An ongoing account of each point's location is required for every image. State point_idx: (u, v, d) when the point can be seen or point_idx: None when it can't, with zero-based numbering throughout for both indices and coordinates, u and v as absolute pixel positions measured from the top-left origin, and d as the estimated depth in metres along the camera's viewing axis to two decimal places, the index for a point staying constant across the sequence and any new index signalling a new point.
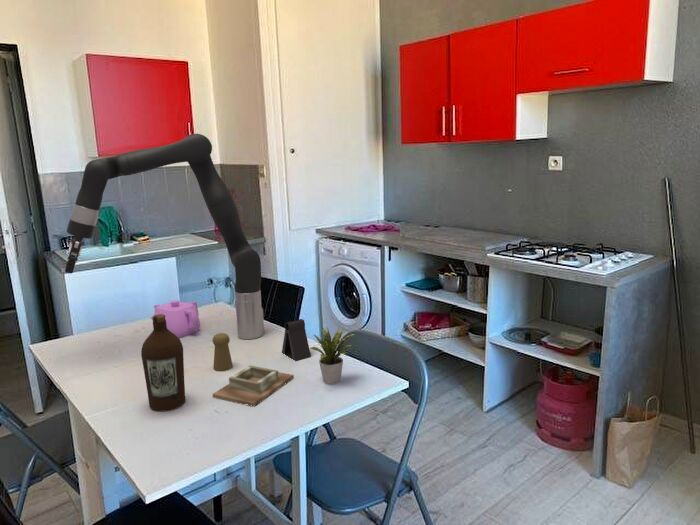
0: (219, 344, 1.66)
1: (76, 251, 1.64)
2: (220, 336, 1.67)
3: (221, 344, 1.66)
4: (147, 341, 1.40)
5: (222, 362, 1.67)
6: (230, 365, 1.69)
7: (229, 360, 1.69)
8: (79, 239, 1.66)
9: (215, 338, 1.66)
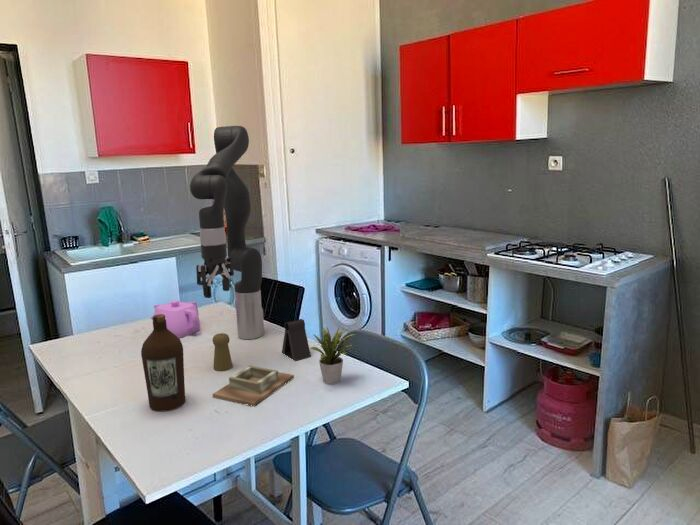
0: (219, 344, 1.66)
1: None
2: (220, 336, 1.67)
3: (221, 344, 1.66)
4: (147, 341, 1.40)
5: (222, 362, 1.67)
6: (230, 365, 1.69)
7: (229, 360, 1.69)
8: None
9: (215, 338, 1.66)
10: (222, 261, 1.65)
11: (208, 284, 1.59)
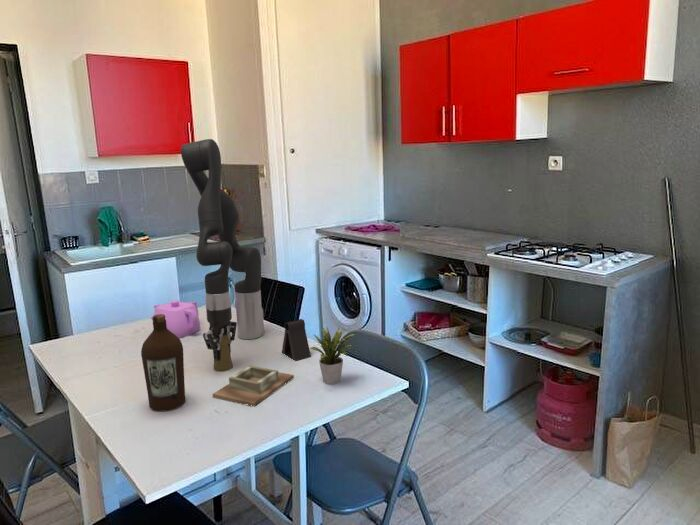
0: None
1: None
2: None
3: (221, 344, 1.66)
4: (147, 341, 1.40)
5: (222, 362, 1.67)
6: (230, 365, 1.69)
7: (229, 360, 1.69)
8: None
9: (215, 338, 1.66)
10: (227, 322, 1.69)
11: (218, 348, 1.66)
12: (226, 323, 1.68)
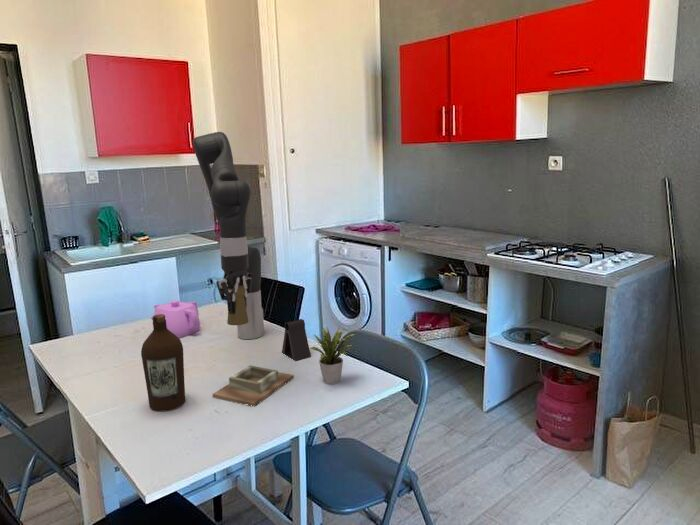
0: None
1: None
2: None
3: (236, 295, 1.51)
4: (147, 341, 1.40)
5: (237, 315, 1.51)
6: (246, 319, 1.53)
7: (245, 314, 1.53)
8: None
9: (230, 288, 1.51)
10: (243, 272, 1.53)
11: (233, 299, 1.50)
12: (242, 273, 1.53)
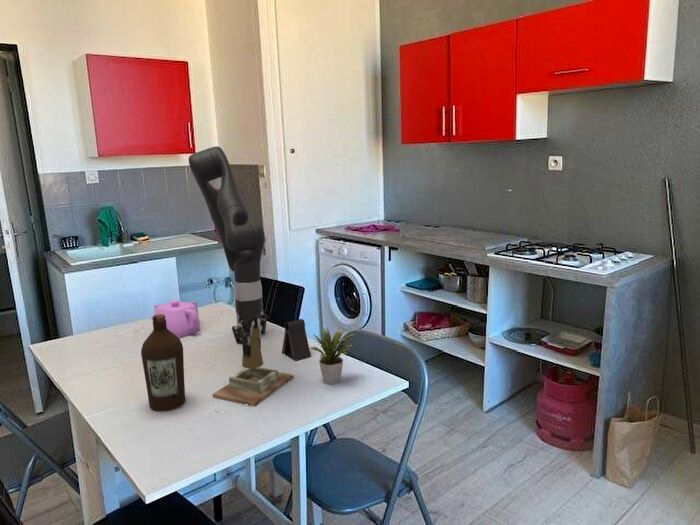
0: None
1: None
2: None
3: (251, 339, 1.50)
4: (147, 341, 1.40)
5: (252, 358, 1.51)
6: (261, 362, 1.53)
7: (260, 356, 1.52)
8: None
9: (245, 332, 1.50)
10: (258, 314, 1.53)
11: (248, 343, 1.49)
12: (256, 315, 1.52)
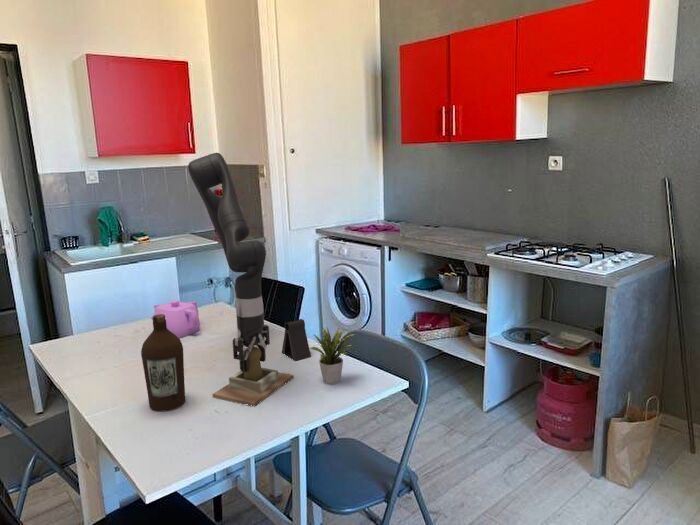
0: (251, 359, 1.51)
1: None
2: (251, 350, 1.51)
3: (252, 359, 1.51)
4: (147, 341, 1.40)
5: (253, 378, 1.52)
6: None
7: (261, 376, 1.53)
8: None
9: None
10: (259, 331, 1.53)
11: (245, 358, 1.48)
12: (258, 331, 1.53)
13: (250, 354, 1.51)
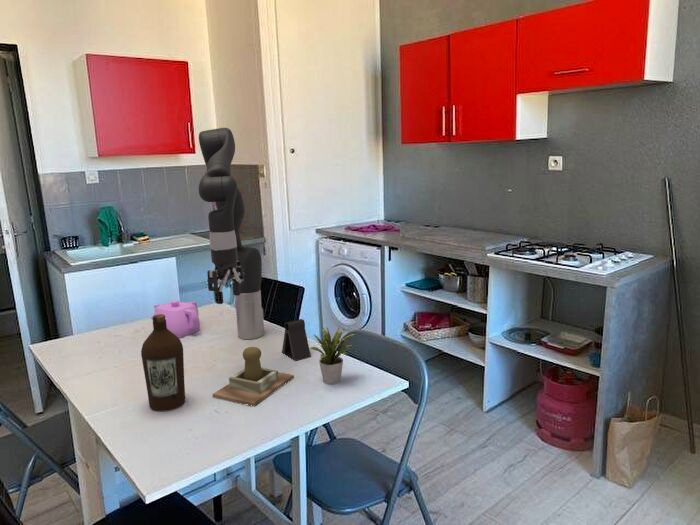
0: (251, 359, 1.51)
1: None
2: (251, 350, 1.51)
3: (252, 359, 1.51)
4: (147, 341, 1.40)
5: (253, 378, 1.52)
6: None
7: (261, 376, 1.53)
8: None
9: (246, 352, 1.51)
10: (233, 265, 1.59)
11: (220, 290, 1.54)
12: (232, 265, 1.58)
13: (250, 354, 1.51)
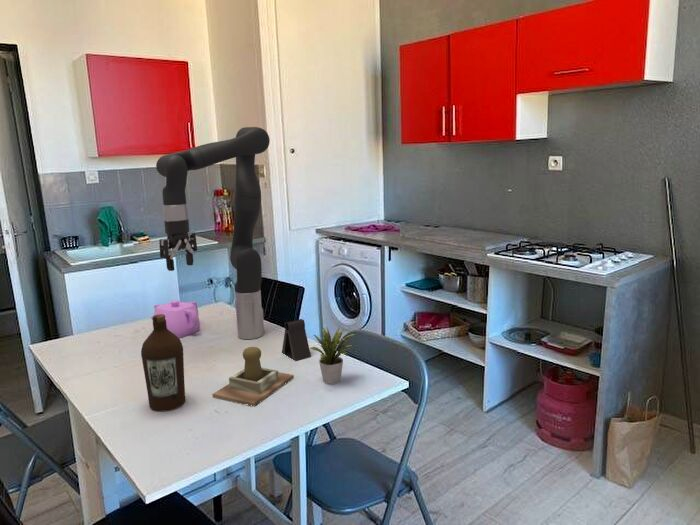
0: (251, 359, 1.51)
1: None
2: (251, 350, 1.51)
3: (252, 359, 1.51)
4: (147, 341, 1.40)
5: (253, 378, 1.52)
6: None
7: (261, 376, 1.53)
8: None
9: (246, 352, 1.51)
10: (185, 236, 1.75)
11: (171, 257, 1.69)
12: (184, 236, 1.74)
13: (250, 354, 1.51)
